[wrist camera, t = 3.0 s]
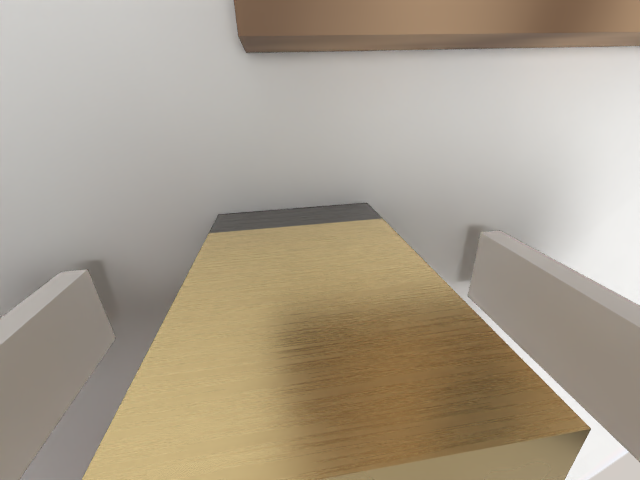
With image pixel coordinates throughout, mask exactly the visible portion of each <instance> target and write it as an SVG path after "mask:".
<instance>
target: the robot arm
mask: <svg viewBox="0 0 640 480" xmlns="http://www.w3.org/2000/svg"><path fill="white" fill-rule="evenodd" d="M468 297H469V298H470V299H471V300H472V301H473V302H474V303H475V304H476V305H477V306H478V307H480V308H481V309H482V310H483V311H484V312H485V313H486V314H487V315H488V316H489V317H490V318H491V319H492V320H493V321H494V322H495V323H496V324H497V325H498V326H499V327H500V328H501V329H502V330H503V331H504V332H505V333H506V334H507V335H509V336H510V337H511V338H512V339H513V340H514V341H515V342H516V343H517V344H518V345H519V346H520V347H521V348H522V349H523V350H524V351H525V352H526V353H527V354H528V355H529V356H530V357H531V358H532V359H533V360H534V361H535V362H536V363H537V364H539V365H540V366H541V367H542V368H543V369H544V370H545V371H546V372H547V373H548V374H549V375H550V376H551V377H552V378H553V379H554V380H555V381H556V382H557V383H558V384H559V385H560V386H561V387H562V388H563V389H564V390H565V391H566V392H568V393H569V394H570V395H571V396H572V397H573V398H574V399H575V400H576V401H577V402H578V403H579V404H580V405H581V406H582V407H583V408H584V409H585V410H586V411H587V412H588V413H589V414H590V415H591V416H592V417H593V418H594V419H595V420H597V421H598V422H599V423H600V424H601V425H602V426H603V427H604V428H605V429H606V430H607V431H608V432H609V433H610V434H611V435H612V436H613V437H614V438H615V439H616V440H617V441H618V442H619V443H620V444H621V445H622V446H623V447H624V448H626V449H627V450H628V451H629V452H630V453H631V454H632V455H633V456H634V457H635V458H636V459H637V460H638V461H639V462H640V305H638V304H636V303H634V302H632V301H630V300H628V299H626V298H625V297H623V296H621V295H619V294H617V293H615V292H613V291H612V290H610V289H608V288H606V287H604V286H602V285H600V284H599V283H597V282H595V281H593V280H591V279H589V278H587V277H586V276H584V275H582V274H580V273H578V272H576V271H574V270H573V269H571V268H569V267H567V266H565V265H563V264H561V263H560V262H558V261H556V260H554V259H552V258H550V257H548V256H547V255H545V254H543V253H541V252H539V251H537V250H535V249H534V248H532V247H530V246H528V245H526V244H524V243H522V242H521V241H519V240H517V239H515V238H513V237H511V236H509V235H508V234H506V233H504V232H502V231H489V232H481V233H480V237H479V242H478V247H477V252H476V257H475V262H474V267H473V272H472V277H471V282H470V287H469V292H468ZM115 339H116V337H115V335H114V333H113V330H112V328H111V325H110V323H109V320H108V318H107V315H106V313H105V311H104V308H103V306H102V303H101V301H100V298H99V296H98V293H97V291H96V289H95V286H94V284H93V281H92V279H91V276H90V274H89V271H88V269H86V270H75V271H65V272H60V273H59V274H57V275H56V276H55V277H53V278H52V279H51V280H49V281H48V282H47V283H46V284H44V285H43V286H42V287H40V288H39V289H38V290H37V291H35V292H34V293H33V294H31V295H30V296H29V297H27V298H26V299H25V300H24V301H22V302H21V303H20V304H18V305H17V306H16V307H14V308H13V309H12V310H11V311H9V312H8V313H7V314H5V315H4V316H3V317H1V318H0V480H19V479H20V478H21V476H22V475H23V474H24V472H25V471H26V469H27V468H28V466H29V465H30V463H31V462H32V460H33V459H34V457H35V456H36V455H37V453H38V452H39V450H40V449H41V447H42V446H43V444H44V443H45V441H46V440H47V438H48V437H49V436H50V434H51V433H52V431H53V430H54V428H55V427H56V425H57V424H58V422H59V421H60V419H61V418H62V417H63V415H64V414H65V412H66V411H67V409H68V408H69V406H70V405H71V403H72V402H73V400H74V399H75V398H76V396H77V395H78V393H79V392H80V390H81V389H82V387H83V386H84V384H85V383H86V381H87V380H88V379H89V377H90V376H91V374H92V373H93V371H94V370H95V368H96V367H97V365H98V364H99V362H100V361H101V359H102V358H103V357H104V355H105V354H106V352H107V351H108V349H109V348H110V346H111V345H112V343H113V342H114V340H115Z"/></svg>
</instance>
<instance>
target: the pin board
mask: <svg viewBox="0 0 640 480" xmlns="http://www.w3.org/2000/svg"><path fill="white" fill-rule="evenodd" d="M234 5H235V13H236V21H237V29H238V37H239V39H240V41H241V43H242V45H243V47H244V49H245V51H246V53H250V52H309V51H368V50H427V49H486V48H545V47H604V46H640V0H234Z"/></svg>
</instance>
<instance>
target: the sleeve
mask: <svg viewBox="0 0 640 480" xmlns="http://www.w3.org/2000/svg"><path fill="white" fill-rule="evenodd" d="M590 430H591V428H590V427H589V426H588V425H587V424H586V423H585V422H584V421H583V420H582V419H581V418H580V417H579V416H578V415H577V414H576V413H575V412H574V411H573V410H572V409H571V408H570V407H569V406H568V405H567V404H566V403H565V402H564V401H563V400H562V399H561V398H560V397H559V396H558V395H557V394H556V393H555V392H554V391H553V390H552V389H551V388H550V387H549V386H548V385H547V384H546V383H545V382H544V381H543V380H542V379H541V378H540V377H539V376H538V375H537V374H536V373H535V372H534V371H533V370H532V369H531V368H530V367H529V366H528V365H527V364H526V363H525V362H524V361H523V360H522V359H521V358H520V357H519V356H518V355H517V354H516V353H515V352H514V351H513V350H512V349H511V348H510V347H509V346H508V345H507V344H506V343H505V342H504V341H503V340H502V339H501V338H500V337H499V336H498V335H497V334H496V333H495V332H494V331H493V329H492V328H491V327H490V326H489V325H488V324H487V323H486V322H485V321H484V320H483V319H482V318H481V317H480V316H479V315H478V314H477V313H476V312H475V311H474V310H473V309H472V308H471V307H470V306H469V305H468V304H467V303H466V302H465V301H464V300H463V299H462V298H461V297H460V296H459V295H458V294H457V293H456V292H455V291H454V290H453V289H452V288H451V287H450V286H449V285H448V284H447V283H446V282H445V281H444V280H443V279H442V278H441V277H440V276H439V275H438V274H437V273H436V272H435V271H434V270H433V269H432V268H431V267H430V266H429V265H428V264H427V263H426V262H425V261H424V260H423V259H422V258H421V257H420V256H419V255H418V254H417V253H416V252H415V251H414V250H413V249H412V248H411V247H410V246H409V245H408V244H407V243H406V242H405V241H404V240H403V239H402V238H401V237H400V236H399V235H398V234H397V233H396V232H395V231H394V230H393V229H392V228H391V227H390V226H389V225H388V224H387V223H386V222H385V221H384V220H383V219H382V218H381V217H380V216H379V215H378V214H377V213H376V212H375V211H374V210H373V209H372V208H371V207H370V206H369V205H368V204H367V203H361V204H348V205H335V206H323V207H310V208H297V209H284V210H272V211H259V212H246V213H233V214H221V215H218V216H217V218H216V220H215V222H214V224H213V226H212V228H211V230H210V232H209V234H208V236H207V238H206V240H205V242H204V244H203V245H202V247H201V249H200V251H199V253H198V255H197V257H196V259H195V261H194V263H193V265H192V267H191V269H190V271H189V273H188V275H187V277H186V278H185V280H184V282H183V284H182V286H181V288H180V290H179V292H178V294H177V296H176V298H175V300H174V302H173V304H172V306H171V308H170V310H169V311H168V313H167V315H166V317H165V319H164V321H163V323H162V325H161V327H160V329H159V331H158V333H157V335H156V337H155V339H154V341H153V342H152V344H151V346H150V348H149V350H148V352H147V354H146V356H145V358H144V360H143V362H142V364H141V366H140V368H139V370H138V372H137V374H136V375H135V377H134V379H133V381H132V383H131V385H130V387H129V389H128V391H127V393H126V395H125V397H124V399H123V401H122V403H121V405H120V407H119V408H118V410H117V412H116V414H115V416H114V418H113V420H112V422H111V424H110V426H109V428H108V430H107V432H106V434H105V436H104V438H103V440H102V441H101V443H100V445H99V447H98V449H97V451H96V453H95V455H94V457H93V459H92V461H91V463H90V465H89V467H88V469H87V471H86V472H85V474H84V476H83V478H82V480H565V478H566V476H567V474H568V472H569V470H570V468H571V466H572V464H573V463H574V461H575V459H576V457H577V455H578V453H579V451H580V449H581V447H582V445H583V443H584V441H585V439H586V438H587V436H588V434H589V432H590Z"/></svg>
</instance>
